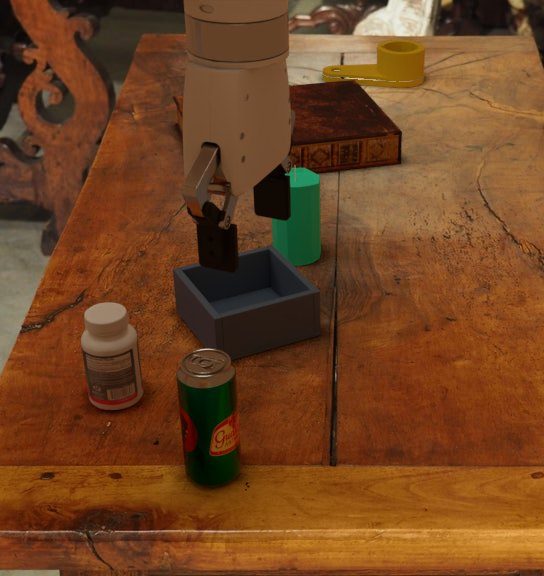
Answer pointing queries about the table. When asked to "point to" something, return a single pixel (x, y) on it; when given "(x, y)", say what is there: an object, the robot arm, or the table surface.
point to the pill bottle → (111, 357)
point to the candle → (300, 220)
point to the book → (334, 128)
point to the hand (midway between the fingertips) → (247, 241)
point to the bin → (248, 304)
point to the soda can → (209, 417)
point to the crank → (386, 66)
